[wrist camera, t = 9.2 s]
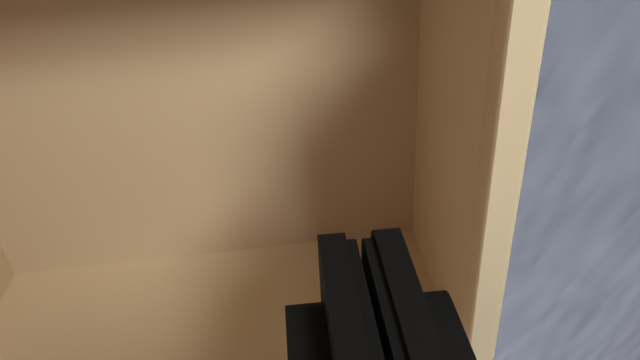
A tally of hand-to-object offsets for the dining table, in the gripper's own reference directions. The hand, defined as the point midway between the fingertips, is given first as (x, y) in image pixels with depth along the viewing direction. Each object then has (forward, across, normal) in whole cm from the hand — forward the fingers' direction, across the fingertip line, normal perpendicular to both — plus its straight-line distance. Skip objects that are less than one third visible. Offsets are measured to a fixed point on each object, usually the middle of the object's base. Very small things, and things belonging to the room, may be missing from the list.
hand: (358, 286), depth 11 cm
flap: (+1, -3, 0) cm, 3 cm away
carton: (+11, +5, 0) cm, 12 cm away
